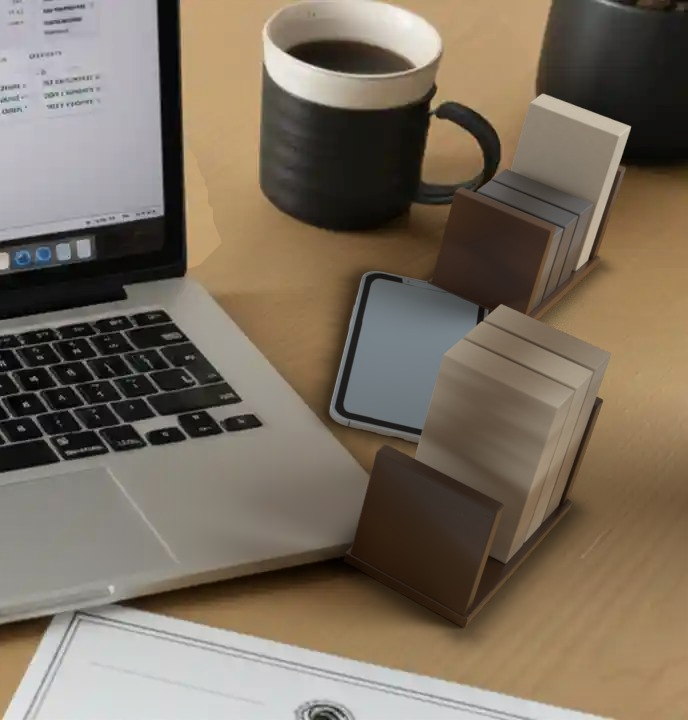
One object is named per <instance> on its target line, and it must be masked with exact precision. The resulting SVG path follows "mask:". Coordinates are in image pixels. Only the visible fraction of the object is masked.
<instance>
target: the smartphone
mask: <svg viewBox="0 0 688 720" xmlns="http://www.w3.org/2000/svg"><path fill="white" fill-rule="evenodd" d="M427 282H428V280H422V279H417V278H414V277H413V278H412V277H408V276H403V275H400V274H399V275H398V274H394V273H389V272H384V271H377V270H371V271H368V272H365V273H364V274H363V275H362V276H361V280H360V283H359V287H358V293H357V296H356V298H355V304H354V305H353V308H352V312H351V317H350V321H349V325H348V333H347V337H346V341H345V345H344V349H343V353H342V357H341V361H340V365H339V369H338V373H337V377H336V382H335V385H334V388H333V389H334V390H333V393H332V397H331V402H330V405H329V416H330V417H331V419H332V420H333V421H334V422H336V423H338V424H339V425H343V426H345V427H349V428H353V429H357V430H363V431H367V432H371V433H376V434H378V435H382V436H387V437H394V438H399V439H403V440H404V441H409V442H412V443H415V444H419V441H420V437H421V434H422V430H423V426H424V423H425V419H426V416H427V412H428V408H429V405H430V401H431V398H432V394H433V390H434V387H435V383H436V380H437V376H438V372H439V369H440V365H441V362H442V358H443V355H444V354H445V353H446V352H447V351H448V350H449V349H450V348H452V347H453V346H454V345H455V344H456V343H457V342H458V341H460V340H461V339H464V336H465V335H467V334H468V333H469V332H470V331H471V330H472V329H473V328H475V327H476V326H477V325H478V324H479V323H480V322H483V321H484V319H485V318H486V317H487V316H488V311H489V310H487V309H485V308H482V307H480V306H478V305H476V304H473V303H471V302H469V301H467V300H465V299H462V298H460V297H458V296H456V295H453V294H451V293H449V292H447V291H445V290H443V289H440V288H438V287H436V286H434V285H431V284H429V283H427Z"/></svg>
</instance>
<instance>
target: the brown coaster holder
mask: <svg viewBox="0 0 688 720" xmlns="http://www.w3.org/2000/svg"><path fill="white" fill-rule="evenodd" d="M626 169H627V167H625V166H624V165H620V164H619V166H618V169H617V172H616V175H615V178H614V181H613V184H612V187H611V190H610V193H609V197H608V200H607V203H606V206H605V209H604V212H603V215H602V218H601V221H600V224H599V227H598V230H597V233H596V236H595V239H594V242H593V246H592V249H591V252H590V255H589V258H588V261H587V262H585V263H584V264H583V265H582V266H581V267H580V268H579V269H578V270H577V271H573V270H572V268H573V265H574V262H575V259H576V255H577V252H578V249H579V246H580V243H581V240H582V237H583V234H584V231H585V227H586V224H587V221H588V218H589V215H590V212H591V209H592V206H593V204H592V203H590V202H587V201H585V200H582V199H580V198H578V197H575V196H573V195H570V194H568V193H565V192H563V191H560V190H558V189H555V188H553V187H550V186H548V185H545V184H543V183H540V182H538V181H535V180H533V179H530V178H528V177H525V176H523V175H520V174H518V173H515V172H513V171H510V170H511V169H507V168H505V169H503V170H502V171H501V172H499V173H498V174H496V175H495V176H494V177H492V179H491V180H489V181H488V182H486V183H485V184H483V185H482V186H481V187H480V188H478V189H477V190H476V192H475V191H472V190H470V189H468V188H465V187H463V186H460V187H459V188H457V190H455V191H454V194H453V198H452V200H451V205H450V209H449V213H448V217H447V220H446V223H445V227H444V230H443V231H444V232H443V235H442V239H441V243H440V246H439V247H440V248H439V251H438V254H437V258H436V262H435V266H434V270H433V274H432V277H431V278H430V279H428V280H427V283H429V284H431V285H434V286H436V287H438V288H440V289H443V290H445V291H447V292H449V293H451V294H453V295H456V296H458V297H460V298H462V299H465V300H467V301H469V302H471V303H473V304H476V305H478V306H480V307H482V308H485V309H487V310H489V311H488V315H489V314H490V313H491V312H493V311H494V310H495V309H496V308H497V307H498V306H499V305H501V304H502V305H504V306H507V307H509V308H511V309H513V310H516V311H518V312H520V313H522V314H525V315H527V316H529V317H531V318H534V319H536V320H538V321H539V319H540V318H542V316H543V315H545V314H546V313H547V312H548V311H549V310H550V309H552V307H554V306H555V305H556V304H557V303H558V302H559V301H560V300H561V299H563V297H564V296H565V295H566V294H568V293H569V292H570V291H571V290H572V289H573V288H574V287H575V286H577V284H579V283H580V282H581V281H582V280H583V279H584V278H585V277H586V276H587V275H588V274H589V273H591V272H592V271H593V270H594V269H595V268H596V267H597V266H598V265H599V262H600V259H601V256H600V255H598V254H599V252H600V249H601V245H602V243H603V240H604V237H605V233H606V231H607V227H608V224H609V222H610V219H611V215H612V212H613V210H614V206H615V203H616V201H617V197H618V194H619V191H620V188H621V185H622V182H623V179H624V176H625V172H626Z"/></svg>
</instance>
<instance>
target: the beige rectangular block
mask: <svg viewBox="0 0 688 720" xmlns="http://www.w3.org/2000/svg"><path fill="white" fill-rule="evenodd" d="M528 103H529V104H528V106H527V111H526V114H525V117H524V121H523V124H522V128H521V131H520V135H519V138H518V142H517V146H516V148H515V153H514V156H513V160H512V163H511V166H510V169H509V170H510V171H513V172H515V173H518V174H520V175H523V176H525V177H528V178H530V179H533V180H535V181H538V182H540V183H543V184H545V185H548V186H550V187H553V188H555V189H558V190H560V191H563V192H565V193H568V194H570V195H573V196H575V197H578V198H580V199H582V200H585V201H587V202H590V203H592V204H593V206H592V209H591V212H590V215H589V218H588V221H587V224H586V227H585V231H584V234H583V237H582V240H581V243H580V246H579V249H578V252H577V255H576V259H575V262H574V265H573V268H572V270H573V271H577V270H578V269H579V268H580V267H581V266H582V265H583V264H584V263H585V262H587V261H588V258H589V255H590V252H591V249H592V246H593V242H594V239H595V236H596V233H597V230H598V227H599V224H600V221H601V218H602V215H603V212H604V209H605V206H606V203H607V200H608V197H609V193H610V190H611V187H612V184H613V181H614V178H615V175H616V172H617V169H618V166H619V165H620V162H621V159H622V156H623V154H624V150H625V147H626V144H627V140H628V138H629V135H630V132H631V128H632V126H631V125H628V124H626V123H623V122H620V121H618V120H614V119H612V118H610V117H607V116H605V115H602V114H599V113H596V112H593V111H591V110H588V109H585V108H582V107H580V106H577V105H574V104H572V103H571V102H566V101H565V100H561V99H559V98H556V97H553V96H551V95H548V94H545V93H541V94H540V95H538V96H537V97H535V98H534V99H532V100H531V101H530V102H528Z"/></svg>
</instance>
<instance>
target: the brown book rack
mask: <svg viewBox="0 0 688 720" xmlns="http://www.w3.org/2000/svg"><path fill="white" fill-rule="evenodd" d="M611 357H612V352H609V351H607V350H605V349H604V348H601V347H599V346H596V345H594V344H592V343H590V342H588V341H586V340H583V339H581V338H579V337H576V336H575V335H572V334H569V333H568V332H565V331H563V330H560V329H559V328H556V327H553V326H551V325H550V324H547V323H544V322H543V321H540V320H539V319H538V320H536V319H534V318H531V317H529V316H527V315H525V314H522V313H520V312H518V311H516V310H513V309H511V308H509V307H507V306H504V305H502V304H501V305H499V306H498V307H497V308H496V309H495V310H494V311H493V312H491V313H490V314H489V315H488V316H487V317H486V318H485V319H484V321H483V322H480V323H479V324H478V325H477V326H476V327H475V328H473V329H472V330H471V331H470V332H469V333H468V334H467V335H465V336H464V339H461V340H460V341H458V342H457V343H456V344H455V345H454V346H453V347H452V348H450V349H449V350H448V351H447V352H446V353H445V354H444V355H443V358H442V362H441V365H440V369H439V372H438V376H437V380H436V383H435V387H434V390H433V394H432V398H431V401H430V405H429V408H428V412H427V416H426V419H425V423H424V426H423V430H422V434H421V437H420V441H419V443H417V444H418V445H417V448H416V451H415V455H414V457H412V456H410V455H408V454H406V453H405V452H402V451H400V450H398V449H396V448H394V447H392V446H390V445H388V444H387V443H385V444H383V445H382V446H381V447H380V448H378V450H377V451H376V452H375V456H374V460H373V464H372V468H371V470H370V474H369V479H368V483H367V487H366V491H365V494H364V499H363V503H362V505H361V510H360V514H359V518H358V522H357V526H356V530H355V533H354V537H353V541H352V545H351V547H350V548H349V549H347V551H346V552H345V556H344V559H343V562H344V563H346V564H348V565H349V566H351V567H353V568H354V569H357V570H358V571H360V572H362V573H364V574H365V575H367V576H369V577H371V578H373V579H375V580H376V581H378V582H379V583H382V584H384V585H385V586H387V587H389V588H391V589H393V590H395V591H396V592H398V593H400V594H402V595H403V596H405V597H408V598H409V599H410V600H412V601H414V602H416V603H418V604H420V605H422V606H423V607H425V608H427V609H429V610H431V611H432V612H434V613H436V614H438V615H440V616H442V617H444V618H445V619H447V620H449V621H451V622H452V623H454V624H456V625H458V626H460V627H461V628H464V629H465V628H466V627H467V626H468V625H469V624H470V623H471V621H472V620H474V618H476V616H477V615H478V613H480V611H481V610H482V609H483V608H484V607H485V606H486V605H487V604H488V602H489V601H490V600H491V599H492V598H493V597H494V595H495V594H496V593H497V592H498V591H499V590H500V589H501V588H502V587H503V586H504V585H505V583H506V582H507V581H508V580H509V579H510V577H512V575H513V574H514V573H515V572H516V571H517V569H518V568H519V567H520V566H521V565H523V563H524V562H525V561H526V559H527V558H528V557H529V556H530V555H531V554H532V553H533V551H535V549H536V548H537V547H538V546H539V545H540V543H541V542H542V541H543V540H544V539H545V538H546V537H547V536H548V535H549V533H550V532H551V531H553V529H554V528H555V526H556V525H557V524H558V523H559V522H560V521H561V520H562V519H563V518H564V516H566V514H567V513H568V512H569V511H570V510H571V506H572V504H573V500H572V499H570V497H571V494H572V490H573V488H574V485H575V483H576V480H577V478H578V474H579V471H580V469H581V465H582V463H583V460H584V457H585V454H586V452H587V449H588V446H589V443H590V440H591V437H592V434H593V432H594V429H595V426H596V423H597V420H598V418H599V416H600V412H601V409H602V406H603V403H604V399H603V398H601V397H599V396H598V394H599V391H600V388H601V385H602V382H603V380H604V378H605V377H604V376H605V374H606V371H607V368H608V365H609V362H610V359H611Z"/></svg>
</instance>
